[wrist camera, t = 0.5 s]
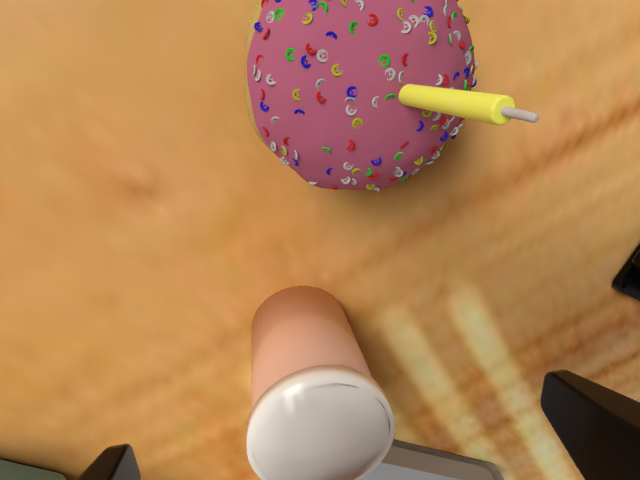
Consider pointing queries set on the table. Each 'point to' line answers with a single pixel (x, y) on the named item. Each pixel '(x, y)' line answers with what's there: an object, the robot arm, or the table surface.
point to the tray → (429, 465)
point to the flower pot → (26, 472)
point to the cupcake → (363, 87)
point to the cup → (312, 393)
